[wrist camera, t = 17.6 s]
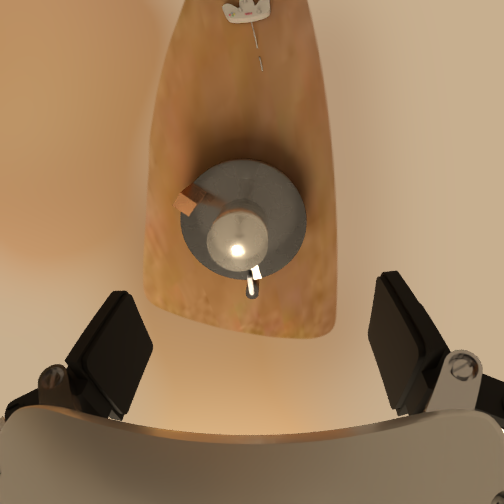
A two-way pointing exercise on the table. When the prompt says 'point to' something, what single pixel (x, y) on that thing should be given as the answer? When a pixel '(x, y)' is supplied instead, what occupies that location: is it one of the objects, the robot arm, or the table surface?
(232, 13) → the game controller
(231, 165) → the turntable
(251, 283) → the dial pointer
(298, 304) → the table surface
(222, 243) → the cover
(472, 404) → the robot arm
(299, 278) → the table surface
